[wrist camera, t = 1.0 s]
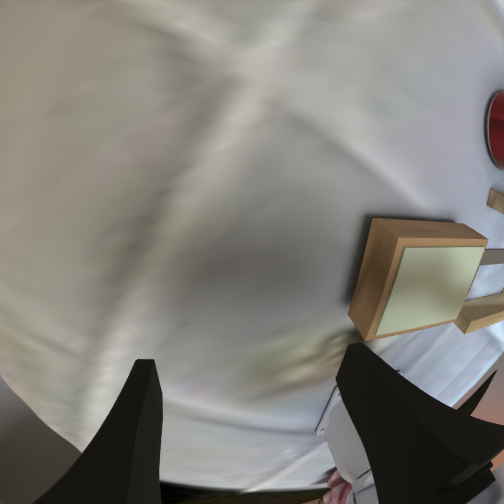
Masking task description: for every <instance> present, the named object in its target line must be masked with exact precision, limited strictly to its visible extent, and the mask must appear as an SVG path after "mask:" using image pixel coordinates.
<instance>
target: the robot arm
mask: <svg viewBox="0 0 504 504" xmlns="http://www.w3.org/2000/svg"><path fill="white" fill-rule="evenodd" d="M402 375H403V373H402V372H401V371H399V372H397V371H396V370H394V369H393V368H392V367H391V366H389V365H388V364H387V363H386V362H385V361H383V360H382V359H381V358H380V357H379V356H377V355H376V354H375V353H374V352H373V351H371V350H370V349H369V348H368V347H366V346H365V345H364V344H363V343H357V344H351V345H348V347H347V350H346V353H345V355H344V358H343V361H342V363H341V366H340V368H339V371H338V373H337V376H336V378H335V379H336V382H337V385H338V387H337V388H336V389H335V391H334V393H333V395H332V398H331V400H330V402H329V404H328V407H327V409H326V411H325V413H324V415H323V417H322V419H321V422H320V424H319V426H318V428H317V430H316V432H315V433H316V435H323V434H324V436H325V438H326V441H327V443H328V446H329V449H330V451H331V454H332V457H333V459H334V462H335V464H336V467H337V470H338V472H339V474H340V475H341V476H342V478H344V479H345V480H346V481H348V482H350V483H351V485H352V488H353V489H352V490H350V491H349V493H348V496H347V498H346V504H504V462H503V463H502V464H500V465H499V466H498V467H497V468H496V469H495V470H493V472H491V470H490V468H491V467H493V464H492V462H491V460H492V459H493V458H494V457H495V456H497V455H498V454H499V453H500V452H501V451H502V450H504V425H499V424H495V423H491V422H487V421H484V420H480V419H477V418H475V417H472V416H469V415H467V414H464V413H462V412H460V411H458V410H455V409H453V408H451V407H449V406H447V405H445V404H443V403H442V402H440V401H438V400H437V399H435V398H433V397H431V396H430V395H428V394H427V393H425V392H424V391H422V390H421V389H419V388H418V387H417V386H415V385H414V384H412V383H411V382H410V381H408V380H407V379H406V378H404V377H403V376H402ZM162 423H163V399H162V390H161V386H160V382H159V378H158V374H157V370H156V365H155V361H154V359H137V360H136V361H135V362H134V365H133V367H132V370H131V372H130V374H129V376H128V378H127V380H126V382H125V384H124V386H123V388H122V390H121V392H120V394H119V396H118V398H117V400H116V402H115V403H114V405H113V407H112V409H111V411H110V412H109V414H108V416H107V417H106V419H105V421H104V422H103V424H102V425H101V427H100V429H99V430H98V432H97V433H96V435H95V436H94V438H93V439H92V441H91V442H90V443H89V445H88V446H87V447H86V449H85V450H84V451H83V453H82V454H81V455H80V456H79V458H78V459H77V460H76V461H75V463H74V464H73V465H72V466H71V467H70V468H69V469H68V470H67V472H66V473H65V474H64V475H63V476H62V477H61V478H60V479H59V480H58V481H57V482H56V483H55V484H54V485H53V486H52V487H51V488H50V489H49V490H47V491H46V492H45V493H44V494H43V495H42V496H40V497H39V498H38V499H37V500H35V501H34V502H33V503H32V504H161V495H160V482H159V464H160V449H161V435H162Z"/></svg>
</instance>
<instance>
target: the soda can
mask: <svg viewBox="0 0 504 504" xmlns="http://www.w3.org/2000/svg"><path fill="white" fill-rule="evenodd" d="M486 134H487V142H488V147H489V150H490V153H491V155H492V157H493V160H494V161H495V163H496V165H497V166H498V167H499V168H500V169H501V170H502V171H504V90H501V91H500V92H498V93H497V94H496V95H495V97H494V98H493V99H492V101H491V103H490V106H489V109H488V113H487V121H486Z"/></svg>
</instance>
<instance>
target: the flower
mask: <svg viewBox="0 0 504 504" xmlns="http://www.w3.org/2000/svg"><path fill="white" fill-rule="evenodd" d="M327 485H328V489H327V491H326V492H325V494H324V495H323V497H322V498H321V499H320V500H319V502H318V504H346V498H347V496H348V493H349V491H350V490H352V489H353V488H352V485H351V483H350V482H348V481H346V480H345V479H344V478H342V476H341V475H340V474H339V472H338V470H337V469H336V472H334V473H333V474H332V476H331V479H330V480H329V481H328V484H327ZM330 489H331V490H330Z"/></svg>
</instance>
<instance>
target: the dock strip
mask: <svg viewBox="0 0 504 504" xmlns="http://www.w3.org/2000/svg"><path fill="white" fill-rule="evenodd" d="M501 263H504V249H485V252H484V254H483V257H482V260H481V263H480V265H491V264H501Z"/></svg>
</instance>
